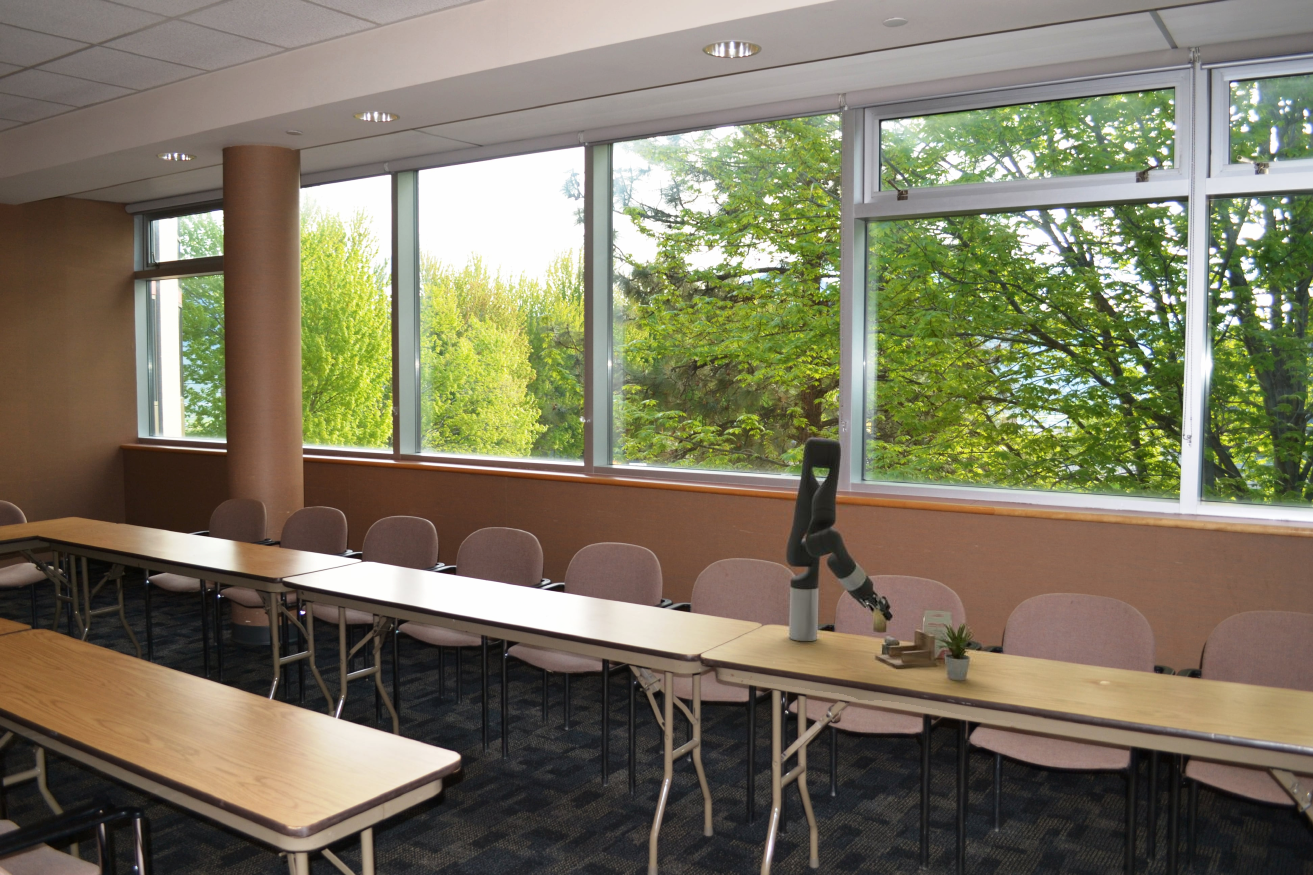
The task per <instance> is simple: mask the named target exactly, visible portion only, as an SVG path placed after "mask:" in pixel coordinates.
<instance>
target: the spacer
mask: <svg viewBox="0 0 1313 875" xmlns="http://www.w3.org/2000/svg"><path fill="white" fill-rule="evenodd" d="M877 603H878V602H877ZM877 603H876V604H877ZM876 604H875V606H876ZM880 609H881V607H880ZM872 615H873V617H872V632H874V633H887V631H888V630H887V629H888V628H887V627H888V621H887V620H886V619H885V617H884V616H883V615H882V614H881V613H880V612H879V611H878V610H877V609H873V612H872Z"/></svg>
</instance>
